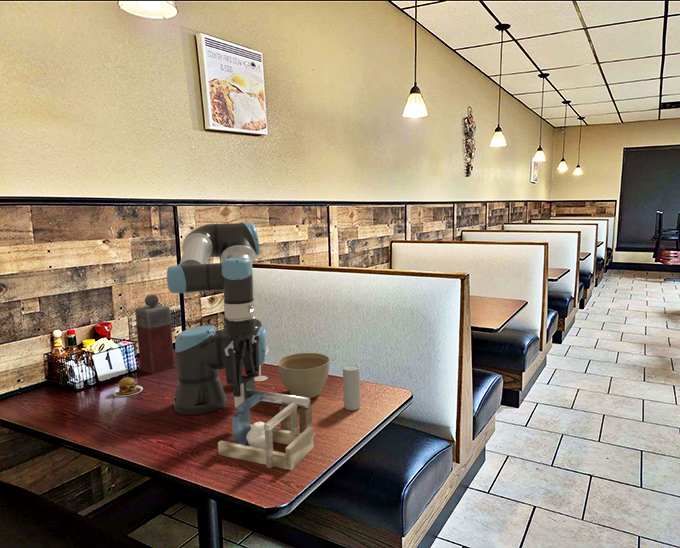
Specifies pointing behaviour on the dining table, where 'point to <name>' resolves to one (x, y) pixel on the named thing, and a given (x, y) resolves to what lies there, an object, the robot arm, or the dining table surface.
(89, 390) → the dining table surface
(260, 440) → the white lumpy mound
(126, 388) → the hamburger
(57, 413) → the dining table surface
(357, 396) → the beverage can
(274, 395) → the hammer
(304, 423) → the cream cubby shelf
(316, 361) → the planter bowl
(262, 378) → the wineglass
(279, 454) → the beige open frame
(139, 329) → the red decanter
